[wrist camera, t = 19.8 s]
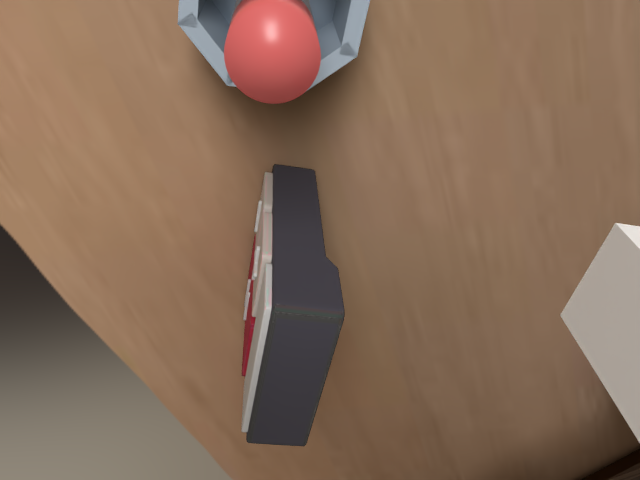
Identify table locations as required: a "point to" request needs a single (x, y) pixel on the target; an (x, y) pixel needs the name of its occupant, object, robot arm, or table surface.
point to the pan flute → (618, 468)
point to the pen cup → (329, 18)
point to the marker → (272, 49)
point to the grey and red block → (288, 311)
